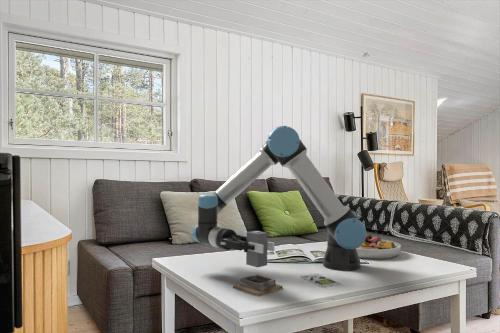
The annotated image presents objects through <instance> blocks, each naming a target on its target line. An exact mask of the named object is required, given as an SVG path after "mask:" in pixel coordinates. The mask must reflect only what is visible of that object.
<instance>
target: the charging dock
mask: <svg viewBox="0 0 500 333" xmlns="http://www.w3.org/2000/svg"><path fill="white" fill-rule="evenodd" d="M276 281H277V280H276V279H275V278H274V279H273V278H271V277H267V276H264V275H261V274H253V275H249V276H244V277H242V278H241V277H240V278H239V283H235V284H233V285H232V288H233V289H235V290H239V291H242V292H243V293H247V294H249V295H250V294H251V295H252V296H256V297H260V296H262V295H265V294H269V293H272V292H275V291H279V290H281V289H283V285H280V284H276V283H277V282H276Z"/></svg>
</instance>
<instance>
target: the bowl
mask: <svg viewBox="0 0 500 333" xmlns="http://www.w3.org/2000/svg"><path fill="white" fill-rule="evenodd" d="M356 250H357V253H358V256H359V257H360V258H359V259H364V260H365V259H367V260H368V259H369V260H385V259H392V258H394V257H396V256H398V255H399V254H400V252H401V251H402V244H400V243H398V242H395V241H393V240H387V239H382V238H381V237H380V236H378V235H375V236H373V237H372V235H371V234H370V233H367V232H366V238H365V241H364V242H363V244H362V245H361V246H359V247H358V248H356Z"/></svg>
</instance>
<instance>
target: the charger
mask: <svg viewBox="0 0 500 333" xmlns="http://www.w3.org/2000/svg"><path fill="white" fill-rule="evenodd" d="M268 235H269V234H268V232H265V231H260V230H252V231H246V236H247V244H248V242H252V243H257V244H262V245H264V249H263V253H257V252H253V251H249V250H248V249H247V252H245V253H246V254H245V255H246V257H245V259H246V263H245V264H246V265H248V266H250V267H255V268H262V267H266V266H268V250H267V242H268Z"/></svg>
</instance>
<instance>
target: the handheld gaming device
mask: <svg viewBox="0 0 500 333" xmlns="http://www.w3.org/2000/svg"><path fill="white" fill-rule="evenodd" d="M299 278H300V279H302V280H304V281H307V282H309V283H311V284H314V285H316V286H318V287H320V286H321V288H328V287H327V286H329V287H333V286H334V285H335V286H340V285H339V284H341V285H342V283H341V282H339V281H337V280H335V279H332V278H329V277H326V276H324V275H322V274H319V273H313V274H312V273H311V274H305V275H300V276H299Z"/></svg>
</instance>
